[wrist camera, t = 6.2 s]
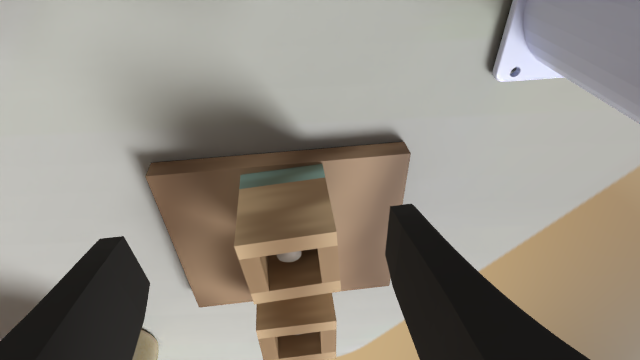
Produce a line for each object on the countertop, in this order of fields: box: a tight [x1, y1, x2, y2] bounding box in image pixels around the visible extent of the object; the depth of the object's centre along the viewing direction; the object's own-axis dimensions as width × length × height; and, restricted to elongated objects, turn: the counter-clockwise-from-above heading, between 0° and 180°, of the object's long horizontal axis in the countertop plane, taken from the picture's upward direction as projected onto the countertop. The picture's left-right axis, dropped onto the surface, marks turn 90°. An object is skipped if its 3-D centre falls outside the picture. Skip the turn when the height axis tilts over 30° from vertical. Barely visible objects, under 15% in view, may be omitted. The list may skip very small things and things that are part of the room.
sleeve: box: [234, 164, 341, 304], centre depth 19 cm, size 4×4×5 cm
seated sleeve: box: [256, 293, 336, 360], centre depth 23 cm, size 4×4×5 cm
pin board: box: [145, 142, 411, 335], centre depth 22 cm, size 14×12×5 cm
